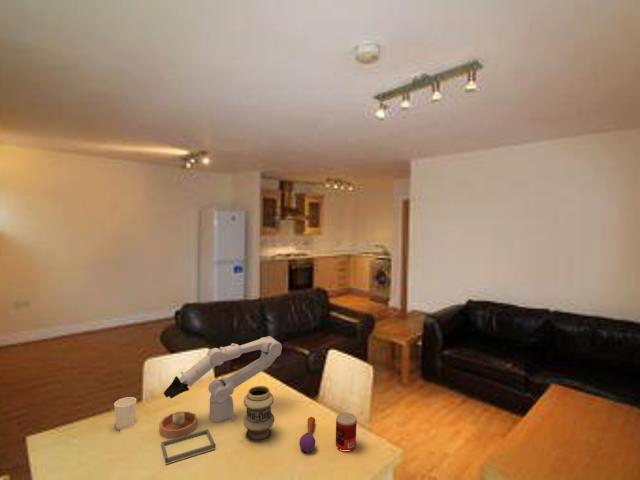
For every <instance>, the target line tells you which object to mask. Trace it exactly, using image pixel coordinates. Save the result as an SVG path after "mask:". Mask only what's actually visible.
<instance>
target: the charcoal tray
mask: <svg viewBox="0 0 640 480" xmlns="http://www.w3.org/2000/svg"><path fill="white" fill-rule="evenodd" d="M204 435H206V436H207V438H208V440H209V442H210V444H208V445H205V446H201V447H198V448H194V449H192V450H188V451H185V452H182V453H178V454H174V455H171V456H168V453H167V449H166V446H169V445H173V444H176V443H179V442H183V441H186V440H190V439H193V438H197V437H201V436H204ZM160 445H161V450H162V453H163V458H164V460H165V461H164V462H165V467H167V466H169V465H172V464H175V463H179V462H182V461H185V460H188V459H191V458H192V459H193V458H195V457H198V456H201V455H205V454H207V453H210V452H211V453H212V452H214V451H216V447H217V446H216V443H215V440H214V439H213V436H212V434H211V433H210V430H209V429H203V430H200V431H197V432H192V433H190V434H189V435H185V436H182V437H178V438H170V439H169V440H168V439H167V440H164V441H161V442H160Z"/></svg>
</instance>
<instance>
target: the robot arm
mask: <svg viewBox="0 0 640 480" xmlns="http://www.w3.org/2000/svg"><path fill="white" fill-rule="evenodd" d="M282 348H283V345H282V343H280V341H277V340H276V339H275V338H273V336H270V335H268V336H264V337H261V338H259V339H256V340H253V341H250V342H247V343H244V344H241V345H239V344H237V343H234V342H233V343H230V345H227V346H220V347H219V348H217V347H214V348H210V349H208V351H207V353H206V355H205V356H204V357H202V358H201V359H200V360H199V361H198V362H196V363H195V364H194V365H192V367H190V368H189V369H187V370H186V371H185V372H183V371H180V374H181V376H180V377H178V376H177V375H176V376H175V377H174V379H173V380H172V382H171V384H170V385H169V386H168V387H167V388H166V389H165V390H164V392H163V395H164V397H165V398H168V397H169V398H170V399H173V398H175V397H177V396H178V395H180V394H182V393H185V392H188V391H190V388H191V387H192V386H193V385H194V384H195V383H196V382H198V381H199V380H200V379H201V378H202V377H204V376H205V375H206V374H207V373H208V372H210V371H211V370H212V369H213V368H215V367H216V366H221V365H223V363H224V362H227V361H231V360H233V359H237V358H240V357H241V355H242V354H246V353H251V352H254V351H261V353H260V357H259V358H258V359H257V358H256V359H255V360H254V361H252V362H250V363H249V364H248V365H245V366H244V367H242V368H241V369H239V370H238V371H236V372H234V373H232V374H231V375H230V376H223V377H221V378H219V379H217V378H216V379H214V380H212V381H211V382H210V383H209V385H208V391H209V393H210V396H209V420H210V422H212V423H222V422H224V421H227V420H228V419H230V421H231V422H232V421H235V420H234V400H233V397H232V396H231V395H233V394H234V391H235V389H236V388H237V387H240V386H241V385H242V384H244V383H245V382H247V381H249V380H250V379H252V378H253V377H256V376H257V375H258V374H259V373H261V372H263V371H264V370H266V369H268V368H269V367H270V366H272V364H273V363H274V362H275V360H276V359H277V357H279V356H281V355H282V350H283V349H282ZM189 387H190V388H189Z"/></svg>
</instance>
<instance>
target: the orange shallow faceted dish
mask: <svg viewBox="0 0 640 480" xmlns="http://www.w3.org/2000/svg"><path fill="white" fill-rule="evenodd" d="M183 412H184V428H181V429H177V430H173V414H174V413H175V412H174V413H170V414H168V415H166V416H164V417H163V418H161V421H160V422H159V429H158V430H159V434H160V436H161V437H163V438H165V439H175V438H178V437H182V436H185V435H189V434H192V433H194V432H195V431H196V428H197V427H198V418H197V416H196V413H194V412H190V411H183Z"/></svg>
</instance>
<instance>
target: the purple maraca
mask: <svg viewBox="0 0 640 480" xmlns="http://www.w3.org/2000/svg"><path fill="white" fill-rule="evenodd" d="M315 423H316V419H315V417H313V416H309V417H308V418H307V432H305V433H304V434H303V435H302V436H301V437H300V439H299V442H298V443H299V444H298V445H299V447H300V449H301V450H302V451H303V452H304V453H310V452H312V451H313V450H314V449H315V447H316V438H315V437H314V435H313V433H312V432H313V431H312V430H313V428H314V426H315Z"/></svg>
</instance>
